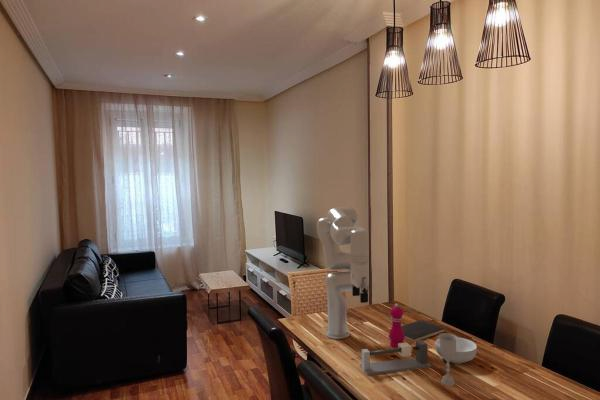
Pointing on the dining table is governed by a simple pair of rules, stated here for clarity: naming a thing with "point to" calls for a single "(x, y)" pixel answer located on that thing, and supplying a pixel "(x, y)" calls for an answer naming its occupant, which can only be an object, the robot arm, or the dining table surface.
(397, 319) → the pepper mill
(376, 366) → the linear slide rail
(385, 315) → the dining table surface
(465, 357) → the cereal bowl
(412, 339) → the hardcover book
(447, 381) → the chalice
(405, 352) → the sleeve
